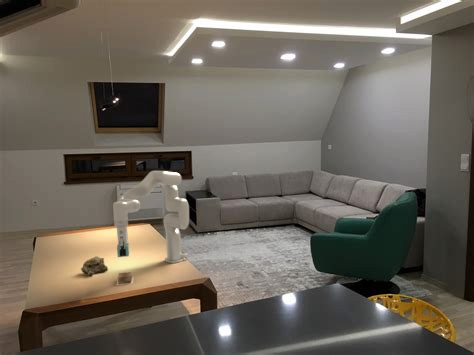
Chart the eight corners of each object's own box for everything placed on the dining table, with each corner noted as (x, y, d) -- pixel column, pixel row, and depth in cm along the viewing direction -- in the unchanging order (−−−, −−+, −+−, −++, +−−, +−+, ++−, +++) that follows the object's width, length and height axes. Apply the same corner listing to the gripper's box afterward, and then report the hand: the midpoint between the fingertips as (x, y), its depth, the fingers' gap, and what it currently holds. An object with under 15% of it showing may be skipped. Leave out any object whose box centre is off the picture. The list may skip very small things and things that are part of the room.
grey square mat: (139, 277, 236) (139, 275, 236) (139, 286, 223) (139, 284, 223) (112, 280, 233) (111, 278, 233) (109, 289, 220) (109, 287, 219)
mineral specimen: (85, 279, 237) (84, 263, 236) (79, 273, 247) (78, 258, 246) (109, 273, 245) (108, 258, 244) (102, 268, 256) (101, 253, 254)
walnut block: (131, 278, 232) (131, 271, 231) (131, 282, 225) (130, 276, 225) (119, 279, 231) (118, 273, 230) (118, 284, 224) (117, 277, 223)
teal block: (129, 253, 230) (128, 243, 229) (128, 256, 224) (128, 245, 223) (118, 254, 228) (117, 244, 228) (117, 257, 222) (116, 247, 222)
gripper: (127, 226, 216) (129, 258, 218) (128, 219, 233) (130, 249, 235) (113, 227, 215) (115, 259, 217) (115, 220, 231) (117, 250, 233)
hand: (123, 253), depth 226 cm, fingers closed on teal block, 6 cm apart
